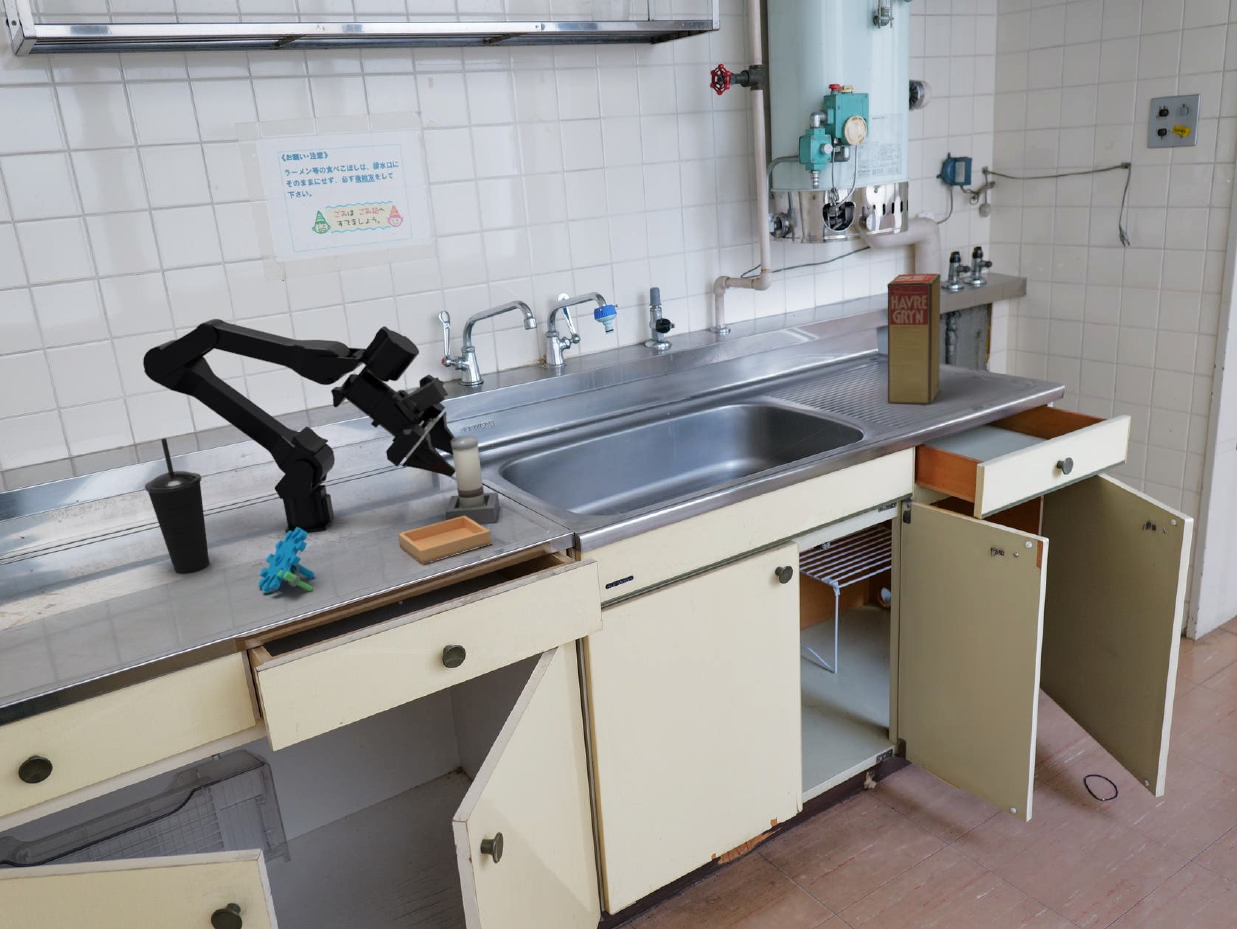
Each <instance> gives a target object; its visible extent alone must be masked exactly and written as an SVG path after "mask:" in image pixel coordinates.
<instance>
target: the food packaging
mask: <svg viewBox="0 0 1237 929" xmlns="http://www.w3.org/2000/svg"><path fill="white" fill-rule="evenodd" d="M941 276H942V275H941V274H940V273H914V274H913V273H908V274H906V273H905V274H898V275H897V276H896V277H894V278H893V280H891V281H890V282H889V283H887V285H886V286H887V404H894V405H895V404H897V405H927V406H928V405H929V406H930V405H932V403H933V402H934V400H935V398H936V397H937V396H938V395H939V393H940V370H941V369H940V365H941V364H940V362H941V361H940V360H941V359H940V358H941V357H940V356H941V355H940V352H941V351H940V350H941Z"/></svg>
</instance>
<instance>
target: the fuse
mask: <svg viewBox="0 0 1237 929" xmlns="http://www.w3.org/2000/svg"><path fill="white" fill-rule="evenodd" d="M478 445H479V440H478V437H477V436H476V435H459V436H457V437H455V438H453V439H452V440H451V447H452V450H453V455H452V456H453V464H454V470H455V473H454V474H455V479H456V489H457V495H458V496H459V503H460V506H459V508H468V507H480V506H486V503H485V500H484V493H485V492H484V491H485V490H484V484H483V478H482V469H481V463H480V462H481V461H480V453H479V446H478Z"/></svg>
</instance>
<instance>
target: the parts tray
mask: <svg viewBox="0 0 1237 929" xmlns="http://www.w3.org/2000/svg"><path fill="white" fill-rule="evenodd" d="M397 537H398V544H399V545H398V546H399V548H400V549H401V550H403V551H404V552H405V553H407V554H408V555H409V556H410V557H412V558H413V559H414V560H415V559H417V560H416V561H417V562H418V561H419V562H420V563H419V562H418V563H419V564H421V565H422V564H425V565H427V564H426V563H428V564H430V563H429V562H431V561H435V560H437V559H441V558H444V557H446V556H451V555H453V554H456V553H461V552H463V551H466V550H470V549H473V548H476V547H481V546H484V545H488V544H490V543H491V544H492V537H491V531H490V530H489V529H487V528H486V527H484V526H482V524H478V523H476V522H475V521H473V520H471V519H470V518H468V517H467V516H465V515H464V516H461V517H457V518H454V519H450V520H443V521H439V522H436V523H435V522H434V523H432V524H429V525H425V526H422V527H417V528H414V529H410V530H407V531H403V532H400V533H397ZM435 562H436V561H435ZM431 563H432V562H431Z"/></svg>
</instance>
